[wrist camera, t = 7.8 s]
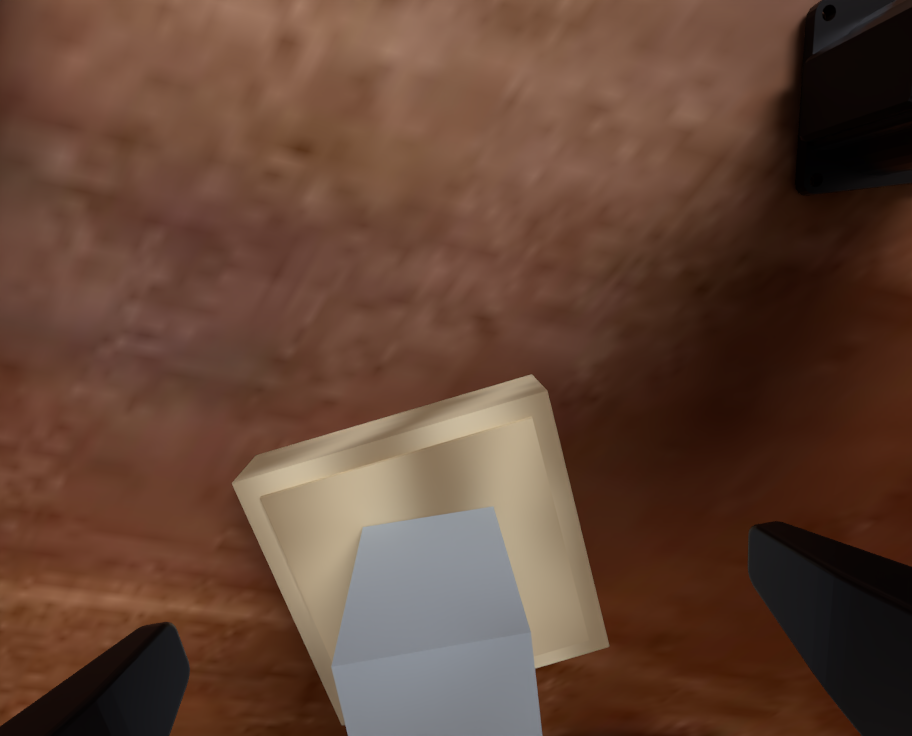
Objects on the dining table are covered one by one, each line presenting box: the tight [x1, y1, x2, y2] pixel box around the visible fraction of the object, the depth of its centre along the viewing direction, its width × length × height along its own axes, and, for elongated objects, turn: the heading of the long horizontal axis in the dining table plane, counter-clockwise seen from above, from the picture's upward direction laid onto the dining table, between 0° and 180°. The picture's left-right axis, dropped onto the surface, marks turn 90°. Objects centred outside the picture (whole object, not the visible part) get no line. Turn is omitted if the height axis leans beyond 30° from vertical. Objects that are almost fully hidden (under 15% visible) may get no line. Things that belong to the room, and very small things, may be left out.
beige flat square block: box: [232, 374, 609, 726], centre depth 19 cm, size 12×12×3 cm
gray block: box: [331, 506, 542, 736], centre depth 15 cm, size 5×5×6 cm
